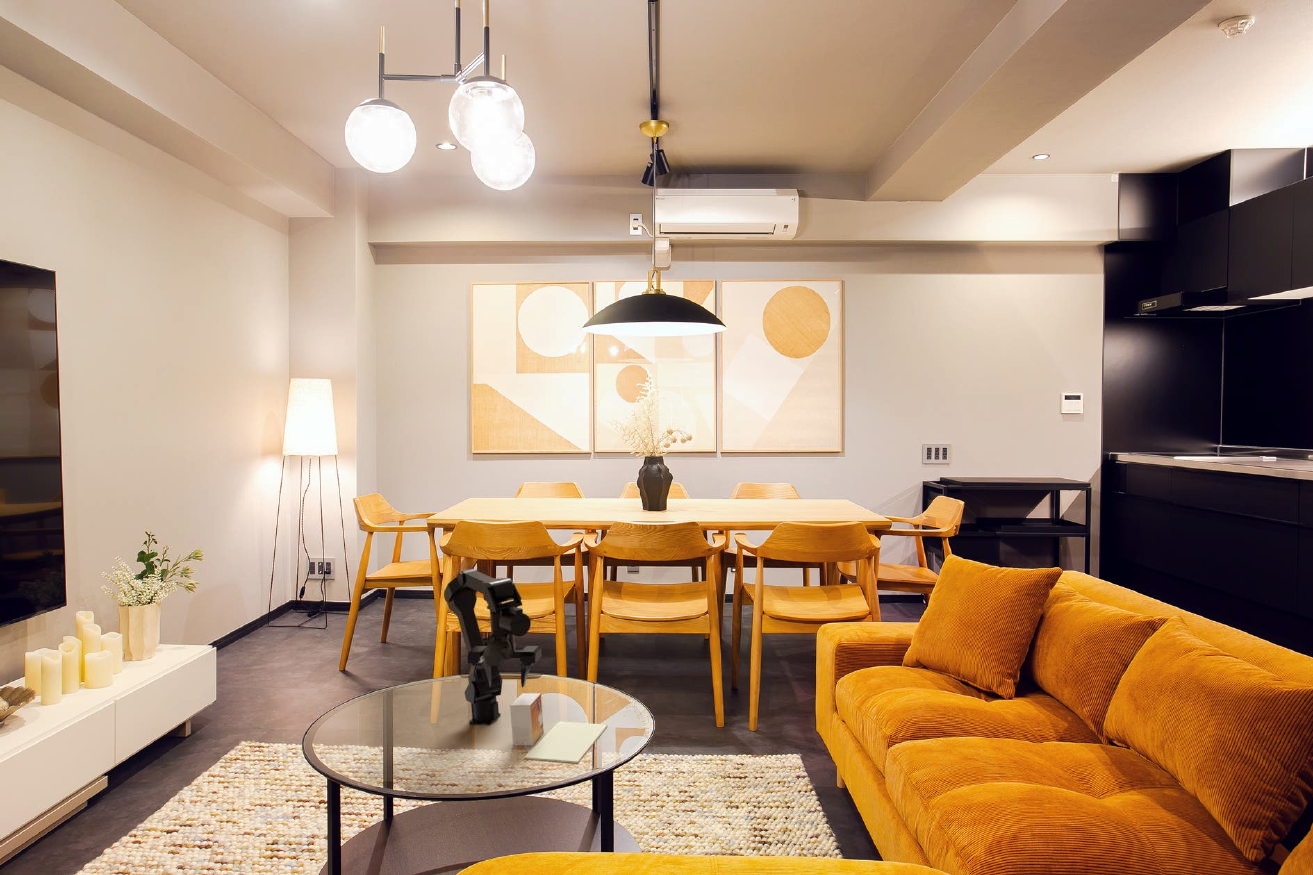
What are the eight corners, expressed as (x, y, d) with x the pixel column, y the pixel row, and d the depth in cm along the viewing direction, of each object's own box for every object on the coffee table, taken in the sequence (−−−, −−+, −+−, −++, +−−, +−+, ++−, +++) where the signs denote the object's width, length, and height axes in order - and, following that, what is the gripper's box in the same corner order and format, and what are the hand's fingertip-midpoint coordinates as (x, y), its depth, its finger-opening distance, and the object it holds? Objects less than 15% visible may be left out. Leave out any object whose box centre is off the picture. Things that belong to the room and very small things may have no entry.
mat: (524, 758, 173) (524, 756, 173) (559, 722, 193) (559, 721, 193) (577, 763, 169) (577, 761, 169) (607, 726, 189) (607, 724, 189)
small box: (533, 746, 180) (530, 705, 179) (512, 745, 181) (509, 705, 181) (544, 732, 188) (541, 692, 187) (524, 731, 189) (521, 692, 188)
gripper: (455, 638, 179) (459, 699, 180) (526, 638, 176) (530, 699, 177) (473, 624, 190) (477, 681, 191) (540, 624, 187) (544, 682, 188)
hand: (506, 686), depth 187 cm, fingers open, 9 cm apart
